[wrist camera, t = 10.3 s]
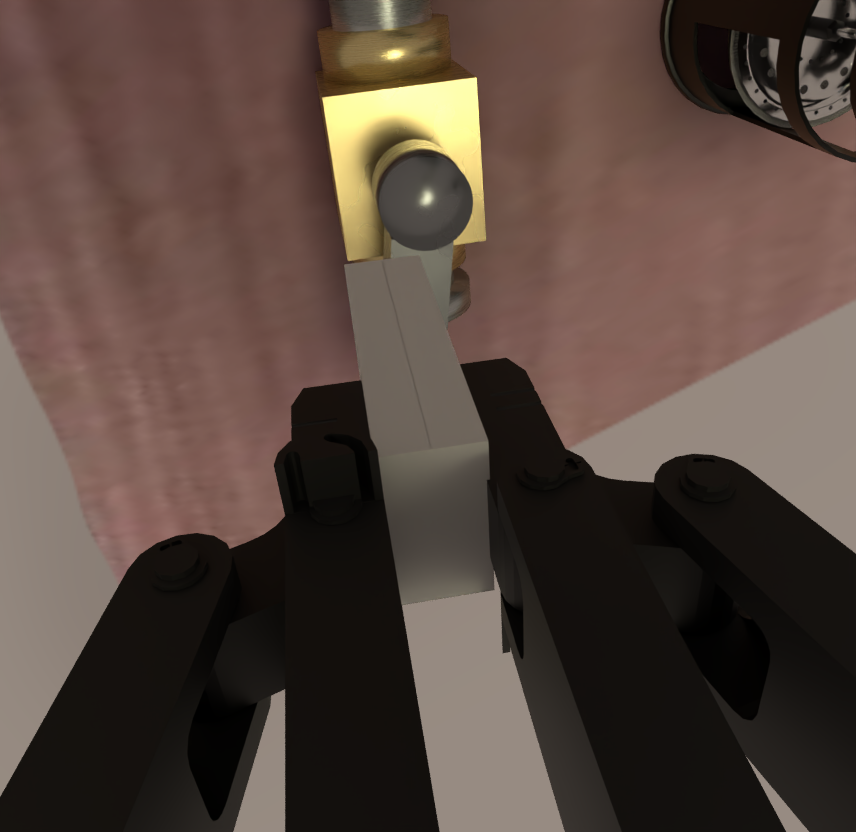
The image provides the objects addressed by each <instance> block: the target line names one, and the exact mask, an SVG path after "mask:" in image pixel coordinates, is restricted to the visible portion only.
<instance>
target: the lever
mask: <svg viewBox="0 0 856 832" xmlns="http://www.w3.org/2000/svg"><path fill="white" fill-rule="evenodd" d="M372 192H373V197H374V200H375V203H376V205H377V208H378V211H379V214H380V216H381V219H382V222H383V224H384V251H383V259H391V258H399V257H407V256H415V255H419V256H420V259H421V262H422V264H423V267H424V270H425V272H426V275H427V278H428V280H429V283H430V286H431V289H432V291H433V294H434V297H435V299H436V302H437V305H438V307H439V310H440V313H441V315H442V318H443V321H444V323H445V326H446V329H447V326H448V312H449V299H450V285H451V271H452V257H453V243H454V240H455V239H457V238H458V237H459V236H460V235H461V233H462V232H463V231H464V229H465V228H466V226H467V224H468V222H469V220H470V218H471V214H472V209H473V195H472V190H471V187H470V184H469V182H468V180H467V178H466V177H465V175H464V174H463V173H462V171H461V170H460V169H459V168H458V166H457V165H456V164H455V162H454V161H453V160H452V159H451V157H450V156H449V155H448V153H447V152H446V151H445V150H444V149H442V148H441V147H440V146H438V145H436V144H434V143H432V142H429V141H425V140H418V139H417V140H408V141H404V142H401V143H399V144H396V145H395V146H393V147H391V148H390V149H389V150H388V151H387V152H385V154H384V155H383V156H382V157H381V158H380V160H379V161H378V163H377V165H376V167H375V170H374V173H373V178H372Z"/></svg>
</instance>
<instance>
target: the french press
mask: <svg viewBox="0 0 856 832" xmlns="http://www.w3.org/2000/svg"><path fill="white" fill-rule="evenodd" d="M698 23H702V24H707V25H711V26H716V27H721V28H725V29H729V33H728V56H729V66H730V69H731V73H732V77H733V80H734V83H735V85H736V88H737V89H731V88H724V87H721V86H719V85H717V84H715V83H714V82H712V81H711V80H709V79H708V78H707V77H706V76H705V74H704V73H703V72H702V71H701V68H700V64H699V61H698V51H697V32H698ZM661 45H662V54H663V58H664V61H665V64H666V67H667V71H668V73H669V75H670V77H671V78H672V80H673V82H674V84H675V85H676V87H677V88H678V89H679V90H680V92H681V93H682V94H683V95H684V96H685V97H686V98H687V99H688V100H690V101H691V102H693V103H694V104H696V105H697V106H699V107H701V108H703V109H706V110H709V111H712V112H715V113H718V114H729V115H733V116H736V117H738V118H741V119H743V120H746V121H748V122H751V123H753V124H756V125H758V126H761V127H763V128H766V129H768V130H771V131H773V132H776V133H778V134H781V135H783V136H786V137H788V138H791V139H793V140H796V141H798V142H801V143H803V144H806V145H808V146H811V147H813V148H816V149H818V150H821V151H823V152H826V153H828V154H831V155H833V156H836V157H839V158H842V159H845V160H848V161H851V162H856V151H855V152H853V151H850V150H847V149H845V148H842V147H839V146H837V145H834V144H832V143H829V142H826V141H824V140H822V139H821V138H820V137H819V136H818V135H817V133H816V132H815V131H814V130H813V129H812V127H813V126H817V125H820V124H823V123H826V122H829V121H831V120H833V119H835V118H837V117H839V116H840V115H842V114H844V113H846V112H848V111H849V110H850V109H853V112H854V115H855V118H856V0H665V4H664V8H663V13H662V20H661ZM792 128H793V129H792Z"/></svg>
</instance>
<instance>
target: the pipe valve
mask: <svg viewBox="0 0 856 832" xmlns="http://www.w3.org/2000/svg"><path fill="white" fill-rule="evenodd" d="M329 7H330V14H331V21H332V25H331V26H327V27H324V28H321V29H319V30H317V36H318V42H319V49H320V55H321V62H322V68H323V71H316V72H315V74H316V80H317V87H318V93H319V99H320V106H321V112H322V118H323V124H324V131H325V137H326V143H327V150H328V156H329V162H330V169H331V175H332V181H333V187H334V194H335V200H336V206H337V213H338V218H339V222H340V227H341V232H342V236H343V241H344V245H345V250H346V255H347V259H348V261H352V263H360V262H368V261H376V260H383V251H384V224H383V222H382V219H381V216H380V214H379V211H378V208H377V205H376V203H375V200H374V197H373V192H372V178H373V173H374V170H375V167H376V165H377V163H378V161H379V160H380V158H381V157H382V156H383V155H384V154H385V152H387V151H388V150H389V149H390V148H391V147H393V146H395V145H396V144H399V143H401V142H404V141H408V140H417V139H418V140H425V141H429V142H432V143H434V144H436V145H438V146H440V147H441V148H442V149H444V150H445V151H446V152H447V153H448V155H449V156H450V157H451V159H452V160H453V161H454V162H455V164H456V165H457V166H458V168H459V169H460V170H461V171H462V173H463V174H464V175H465V177H466V178H467V180H468V182H469V184H470V187H471V190H472V195H473V209H472V214H471V218H470V220H469V222H468V224H467V226H466V228H465V229H464V231H463V232H462V233H461V235H460V236H459V237H458V238H457V239H455V240H454V243H453V257H452V271H451V285H450V299H449V312H448V322H449V321H451V320H453V319H455V318H457V317H459V316H460V315H462V314H463V313H464V312H465V311H466V310H467V309H468V308H469V306H470V303H471V296H470V282H469V276H468V274H467V273H466V272H465V271H464V270H462V269H460V268H458V267H459V266H460V265H461V264H462V263H463V262H464V260H465V258H466V253H465V243H472V242H479V241H485V240H486V231H485V213H484V196H483V179H482V162H481V145H480V128H479V111H478V94H477V77H475V76H474V75H472V74H471V73H470V72H468V71H467V70H466V69H464V68H463V67H461V66H460V65H459V64H457V63H456V62H454V61H453V60H452V59H451V50H450V36H449V23H448V16H447V15H442V14H432V10H431V0H329Z"/></svg>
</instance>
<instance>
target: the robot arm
mask: <svg viewBox="0 0 856 832" xmlns="http://www.w3.org/2000/svg"><path fill="white" fill-rule="evenodd" d="M344 268H345V275H346V282H347V289H348V296H349V303H350V311H351V318H352V325H353V332H354V339H355V346H356V353H357V360H358V367H359V374H360V381H353V382H345V383H338V384H331V385H324V386H317V387H310V388H303V390H302V391H301V393H300V394H299V396H298V397H297V399H296V400H295V402H294V403H293V404H292V406H291V425H292V428H291V433H292V441H290V442H289V443H288V444H287V445H286V446H285V447H284V448H283V449H282V450H281V451H280V452H279V453H278V454H277V457H276V460H275V463H274V468H275V473H276V477H277V481H278V486H279V490H280V495H281V499H282V503H283V508H284V512H285V517H284V518H283V519H282V520H281V521H280V522H279V523H278V524H277V525H276V526H275V527H274V528H272V529H271V530H270V531H268V532H267V533H265V534H264V535H262V536H260V537H258V538H255V539H253V540H251V541H249V542H246V543H244V544H241V545H239V546H236V547H234V548H231V549H229V547H228V545H227V543H225V542H223V541H222V540H220V539H218V538H217V537H215V536H212V535H205V534H199V533H194V534H186V535H178V536H175V537H172V538H169V539H167V540H164V541H161V542H159V543H156V544H155V545H153V546H152V547H151V548H149V549H148V550H146V551H145V552H143V553H142V554H140V555H139V556H138V558H137V559H136V560H135V561H134V562H133V564H132V565H131V566H130V567H129V569H128V570H127V572H126V574H125V576H124V577H123V579H122V581H121V583H120V584H119V586H118V588H117V590H116V592H115V593H114V595H113V597H112V599H111V600H110V603H109V604H108V606H107V608H106V609H105V611H104V613H103V615H102V616H101V618H100V620H99V622H98V624H97V625H96V627H95V629H94V631H93V633H92V635H91V636H90V638H89V640H88V642H87V643H86V645H85V647H84V649H83V650H82V652H81V654H80V656H79V657H78V659H77V661H76V663H75V665H74V667H73V668H72V670H71V672H70V674H69V675H68V677H67V679H66V681H65V683H64V684H63V686H62V688H61V690H60V691H59V693H58V695H57V697H56V698H55V700H54V702H53V704H52V706H51V707H50V709H49V711H48V713H47V715H46V716H45V718H44V720H43V722H42V723H41V725H40V727H39V729H38V731H37V733H36V734H35V736H34V738H33V740H32V741H31V743H30V745H29V747H28V749H27V750H26V752H25V754H24V756H23V757H22V759H21V761H20V763H19V764H18V766H17V768H16V770H15V772H14V773H13V775H12V777H11V779H10V781H9V782H8V784H7V786H6V788H5V789H4V791H3V793H2V795H1V797H0V832H233V831H234V827H235V824H236V820H237V817H238V814H239V810H240V807H241V803H242V800H243V797H244V793H245V790H246V787H247V783H248V780H249V776H250V773H251V770H252V766H253V763H254V759H255V756H256V753H257V749H258V746H259V742H260V739H261V736H262V732H263V729H264V726H265V722H266V719H267V715H268V712H269V709H270V703H271V695H273V694H275V693H278V692H280V691H282V690H284V689H285V797H286V798H285V801H286V802H285V832H439V826H438V820H437V814H436V808H435V802H434V796H433V790H432V784H431V778H430V773H429V766H428V760H427V754H426V748H425V742H424V736H423V730H422V724H421V719H420V712H419V706H418V700H417V694H416V688H415V682H414V676H413V670H412V664H411V658H410V652H409V646H408V640H407V634H406V628H405V622H404V616H403V610H402V605H406V604H412V603H418V602H424V601H430V600H436V599H442V598H448V597H454V596H460V595H467V594H473V593H479V592H485V591H491V590H494V571H495V574H496V577H497V581H498V584H499V587H500V590H501V617H502V646H503V653H506V652H510V648H511V651H512V654H513V658H514V661H515V665H516V668H517V671H518V674H519V678H520V681H521V684H522V688H523V692H524V695H525V698H526V702H527V705H528V709H529V712H530V715H531V719H532V722H533V725H534V729H535V732H536V736H537V739H538V742H539V745H540V749H541V753H542V756H543V759H544V763H545V766H546V769H547V772H548V776H549V780H550V783H551V786H552V790H553V793H554V796H555V800H556V803H557V806H558V810H559V813H560V817H561V820H562V824H563V827H564V830H565V832H786V831H785V829H784V827H783V825H782V823H781V822H780V819H779V818H778V816H777V814H776V812H775V810H774V808H773V806H772V805H771V803H770V801H769V799H768V797H767V795H766V793H765V791H764V789H763V788H762V786H761V784H760V782H759V780H758V778H757V777H756V774H755V773H754V771H753V769H752V767H751V765H750V763H749V762H748V759H749V760H750V761H751V763H752V764H753V765H754V766H755V767H756V769H757V770H758V771H759V772H760V773H761V775H762V776H763V777H764V778H765V779H766V780H767V782H768V783H769V784H770V785H771V786H772V788H773V789H774V790H775V791H776V792H777V794H778V795H779V796H780V797H781V798H782V800H783V801H784V802H785V803H786V804H787V806H788V807H789V808H790V809H791V810H792V812H793V813H794V814H795V815H796V816H797V818H798V819H799V820H800V821H801V822H802V824H803V825H804V826H805V827H806V828H807V830H808V831H809V832H856V554H855V553H854V552H853V551H852V550H850V549H849V548H848V547H846V546H845V545H844V544H843V543H841V542H840V541H839V540H837V539H836V538H835V537H834V536H832V535H831V534H830V533H829V532H827V531H826V530H825V529H823V528H822V527H821V526H820V525H818V524H817V523H816V522H814V521H813V520H811V518H809V517H808V516H807V515H806V514H804V513H803V512H802V511H800V510H799V509H798V508H796V507H795V506H794V505H793V504H791V503H790V502H788V501H787V500H786V499H785V498H784V497H783V496H781V495H780V494H778V493H777V492H776V491H775V490H773V489H772V488H771V487H770V486H768V485H767V484H766V483H765V482H763V481H762V480H761V479H759V478H758V477H757V476H756V475H754V474H753V473H752V472H751V471H749V470H748V469H746V468H744V467H743V466H741V465H739V464H737V463H736V462H734V461H732V460H729V459H725V458H721V457H718V456H714V455H703V454H690V455H685V456H679V457H675V458H673V459H671V460H669V461H667V462H665V463H663V464H662V465H661V466H660V468H659V469H658V471H657V472H656V474H655V479H654V483H653V482H636V481H623V480H615V479H608V478H605V477H601V476H598V475H595V473H594V471H593V469H592V467H591V466H590V465H589V464H588V463H587V462H586V461H585V460H584V458H583V457H581V456H579V455H577V454H575V453H573V452H571V451H569V450H566V449H565V447H564V445H563V443H562V441H561V439H560V437H559V435H558V433H557V431H556V430H555V428H554V426H553V424H552V422H551V420H550V418H549V416H548V414H547V412H546V410H545V408H544V406H543V405H542V404H541V400H540V398H539V396H538V394H537V392H536V391H535V390H534V386H533V384H532V382H531V380H530V378H529V376H528V374H527V373H526V371H525V370H524V369H522V368H521V367H519V366H518V365H516V364H515V363H513V362H512V361H510V360H509V359H507V358H502V359H494V360H487V361H480V362H473V363H466V364H459V361H458V358H457V356H456V353H455V350H454V347H453V345H452V342H451V339H450V337H449V334H448V331H447V329H446V326H445V323H444V321H443V318H442V315H441V313H440V310H439V307H438V305H437V302H436V299H435V297H434V294H433V291H432V289H431V286H430V283H429V280H428V278H427V275H426V272H425V270H424V267H423V264H422V262H421V259H420V256H419V255H415V256H407V257H399V258H391V259H383V260H376V261H368V262H360V263H352V264H344ZM745 755H746V756H745ZM746 757H747V758H748V759H747V758H746Z"/></svg>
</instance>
